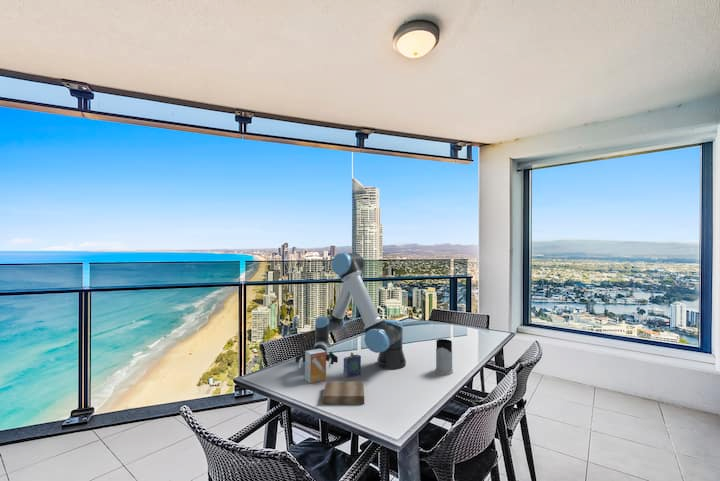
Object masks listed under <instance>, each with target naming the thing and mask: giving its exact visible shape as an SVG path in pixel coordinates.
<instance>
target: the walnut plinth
mask: <svg viewBox="0 0 720 481" xmlns="http://www.w3.org/2000/svg"><path fill="white" fill-rule="evenodd" d="M364 386H365V385H364V381H325V386H324V390H323V395H322V405H364V404H365V387H364Z"/></svg>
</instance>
